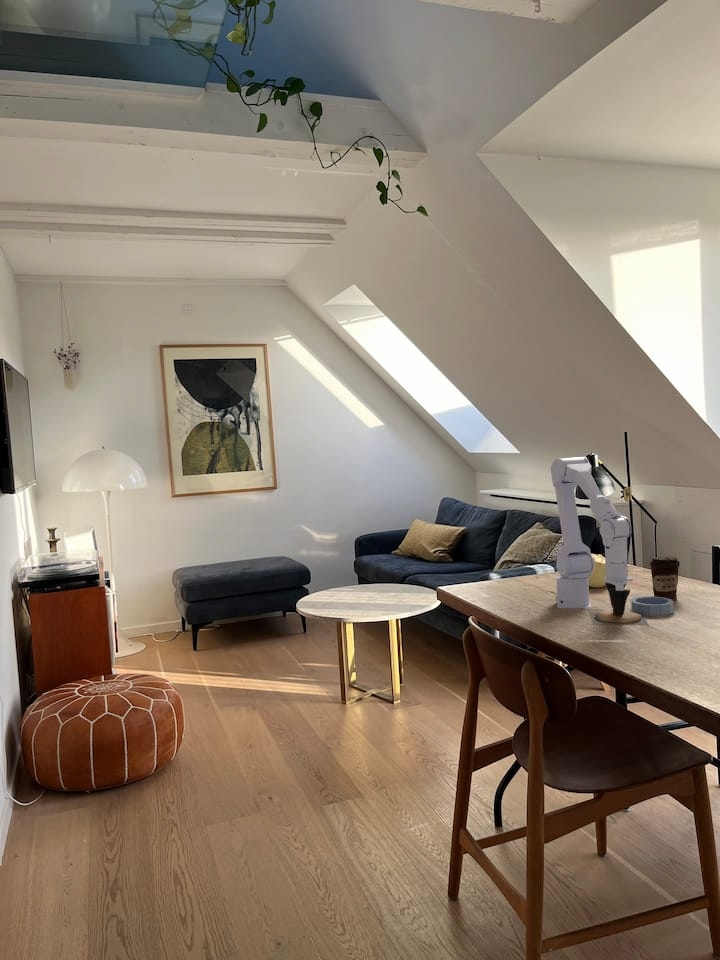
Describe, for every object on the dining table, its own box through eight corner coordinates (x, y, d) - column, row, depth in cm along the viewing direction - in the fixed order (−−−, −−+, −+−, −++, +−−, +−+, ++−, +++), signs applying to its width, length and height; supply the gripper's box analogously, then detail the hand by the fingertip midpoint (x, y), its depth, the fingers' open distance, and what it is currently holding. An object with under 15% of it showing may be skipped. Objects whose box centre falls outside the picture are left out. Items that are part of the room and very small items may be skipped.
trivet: (593, 626, 204) (593, 624, 204) (589, 613, 218) (589, 611, 218) (648, 626, 201) (648, 625, 201) (641, 613, 215) (641, 612, 215)
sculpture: (612, 590, 247) (611, 556, 246) (573, 589, 251) (572, 556, 250) (612, 582, 258) (611, 550, 257) (575, 582, 261) (574, 550, 261)
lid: (596, 623, 205) (596, 602, 205) (593, 612, 217) (592, 592, 216) (644, 624, 202) (643, 602, 202) (637, 613, 214) (637, 592, 214)
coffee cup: (683, 604, 223) (682, 560, 223) (653, 604, 225) (652, 560, 224) (677, 597, 232) (676, 555, 231) (648, 597, 234) (647, 555, 233)
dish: (634, 617, 211) (633, 605, 211) (629, 608, 222) (628, 596, 222) (676, 618, 209) (676, 605, 208) (669, 608, 219) (669, 596, 219)
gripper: (635, 566, 201) (636, 617, 202) (628, 557, 215) (629, 605, 216) (607, 566, 202) (608, 617, 203) (602, 557, 216) (603, 605, 217)
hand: (617, 611), depth 209 cm, fingers open, 7 cm apart
